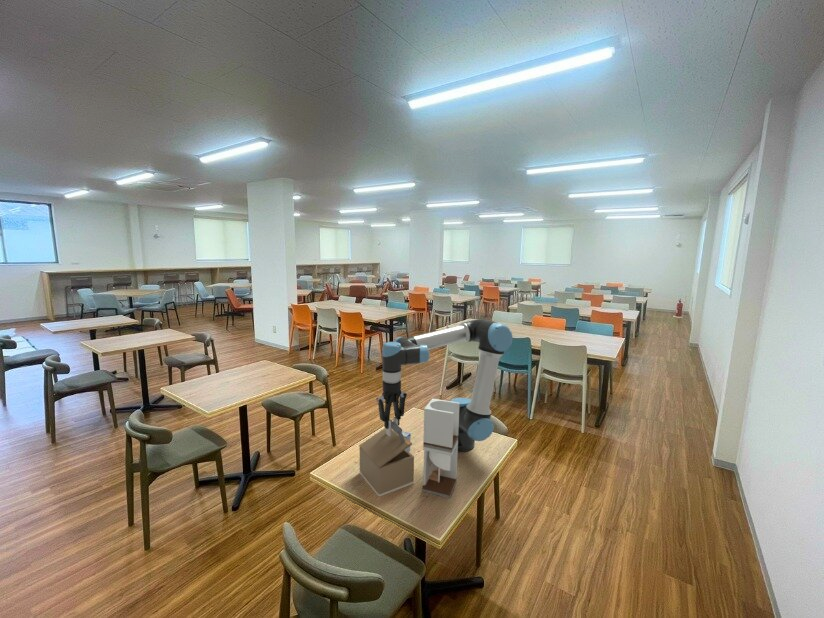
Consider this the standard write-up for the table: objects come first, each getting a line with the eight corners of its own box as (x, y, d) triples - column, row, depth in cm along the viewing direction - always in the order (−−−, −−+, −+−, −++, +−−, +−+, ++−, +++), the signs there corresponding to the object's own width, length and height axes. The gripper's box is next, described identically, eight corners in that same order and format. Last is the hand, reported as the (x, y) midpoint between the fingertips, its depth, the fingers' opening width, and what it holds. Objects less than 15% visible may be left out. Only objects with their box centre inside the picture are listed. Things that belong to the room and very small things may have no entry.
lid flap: (379, 468, 138) (372, 452, 136) (359, 446, 153) (353, 432, 151) (412, 444, 145) (406, 429, 143) (390, 426, 160) (385, 411, 158)
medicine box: (391, 449, 174) (392, 432, 173) (396, 445, 178) (396, 429, 177) (406, 454, 170) (406, 437, 169) (410, 449, 174) (410, 432, 173)
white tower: (422, 491, 144) (424, 408, 138) (430, 476, 154) (432, 398, 148) (450, 498, 140) (453, 413, 135) (456, 482, 150) (459, 402, 144)
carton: (392, 462, 164) (392, 437, 162) (413, 483, 149) (414, 456, 147) (359, 473, 155) (359, 447, 153) (378, 496, 140) (379, 468, 138)
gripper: (403, 374, 154) (403, 425, 158) (370, 381, 145) (371, 435, 149) (413, 379, 148) (412, 432, 151) (378, 386, 139) (379, 443, 143)
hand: (392, 433), depth 150 cm, fingers open, 3 cm apart
